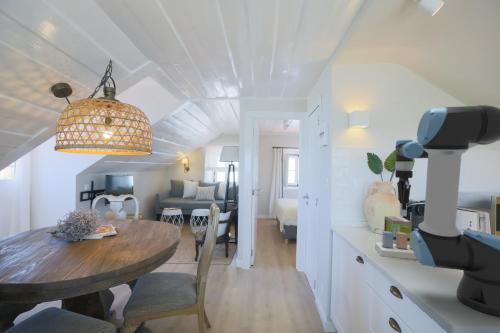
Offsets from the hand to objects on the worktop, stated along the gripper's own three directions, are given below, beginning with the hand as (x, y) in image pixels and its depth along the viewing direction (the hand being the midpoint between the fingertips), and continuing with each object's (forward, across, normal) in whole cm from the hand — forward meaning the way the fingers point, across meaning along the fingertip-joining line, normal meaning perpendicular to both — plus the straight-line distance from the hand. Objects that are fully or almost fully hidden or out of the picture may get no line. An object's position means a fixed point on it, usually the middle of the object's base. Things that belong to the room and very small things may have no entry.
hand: (403, 215), depth 126 cm
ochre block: (+17, +1, -6) cm, 18 cm away
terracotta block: (+17, +1, 0) cm, 17 cm away
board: (+20, +1, 0) cm, 20 cm away
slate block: (+17, +1, +7) cm, 18 cm away
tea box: (+21, +22, -4) cm, 31 cm away
